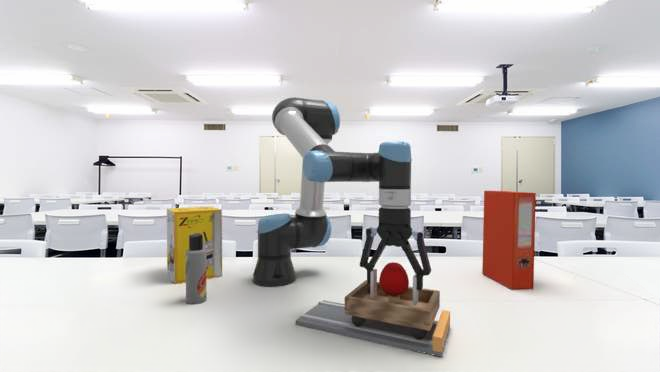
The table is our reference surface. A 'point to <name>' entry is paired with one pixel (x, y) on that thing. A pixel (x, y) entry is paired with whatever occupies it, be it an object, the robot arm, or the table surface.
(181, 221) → the packaging box
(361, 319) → the tray
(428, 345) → the track
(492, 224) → the file binder
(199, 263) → the lotion bottle
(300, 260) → the table surface
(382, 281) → the light bulb
